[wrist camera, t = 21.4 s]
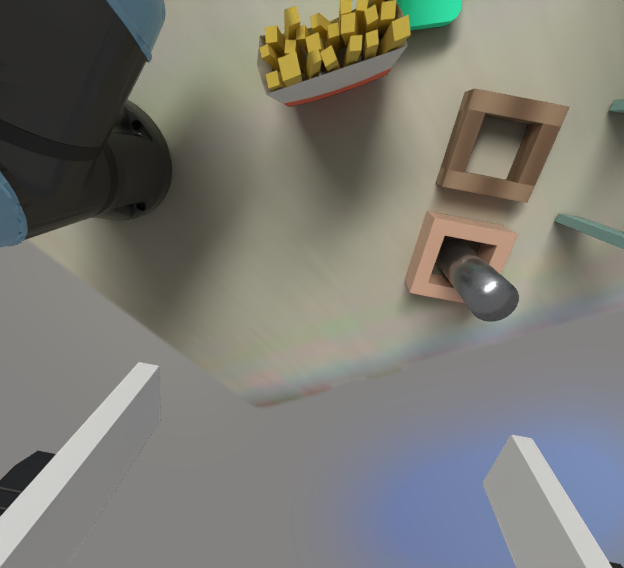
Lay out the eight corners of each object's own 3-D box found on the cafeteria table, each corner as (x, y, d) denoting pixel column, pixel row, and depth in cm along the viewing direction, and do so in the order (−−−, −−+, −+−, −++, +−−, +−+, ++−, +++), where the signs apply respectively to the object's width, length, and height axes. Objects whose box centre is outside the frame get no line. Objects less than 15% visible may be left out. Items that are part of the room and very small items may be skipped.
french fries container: (280, 65, 38) (232, 11, 21) (376, 31, 36) (404, -58, 19) (292, 109, 39) (256, 90, 23) (384, 79, 37) (416, 35, 21)
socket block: (435, 183, 41) (442, 186, 39) (465, 92, 37) (474, 88, 34) (514, 198, 41) (527, 202, 39) (553, 108, 37) (569, 106, 34)
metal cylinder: (430, 266, 46) (463, 316, 33) (440, 235, 44) (480, 276, 31) (461, 272, 46) (507, 325, 33) (473, 241, 44) (526, 285, 31)
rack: (404, 280, 47) (409, 292, 43) (426, 210, 43) (434, 217, 39) (474, 294, 47) (485, 307, 43) (503, 225, 43) (518, 234, 39)
